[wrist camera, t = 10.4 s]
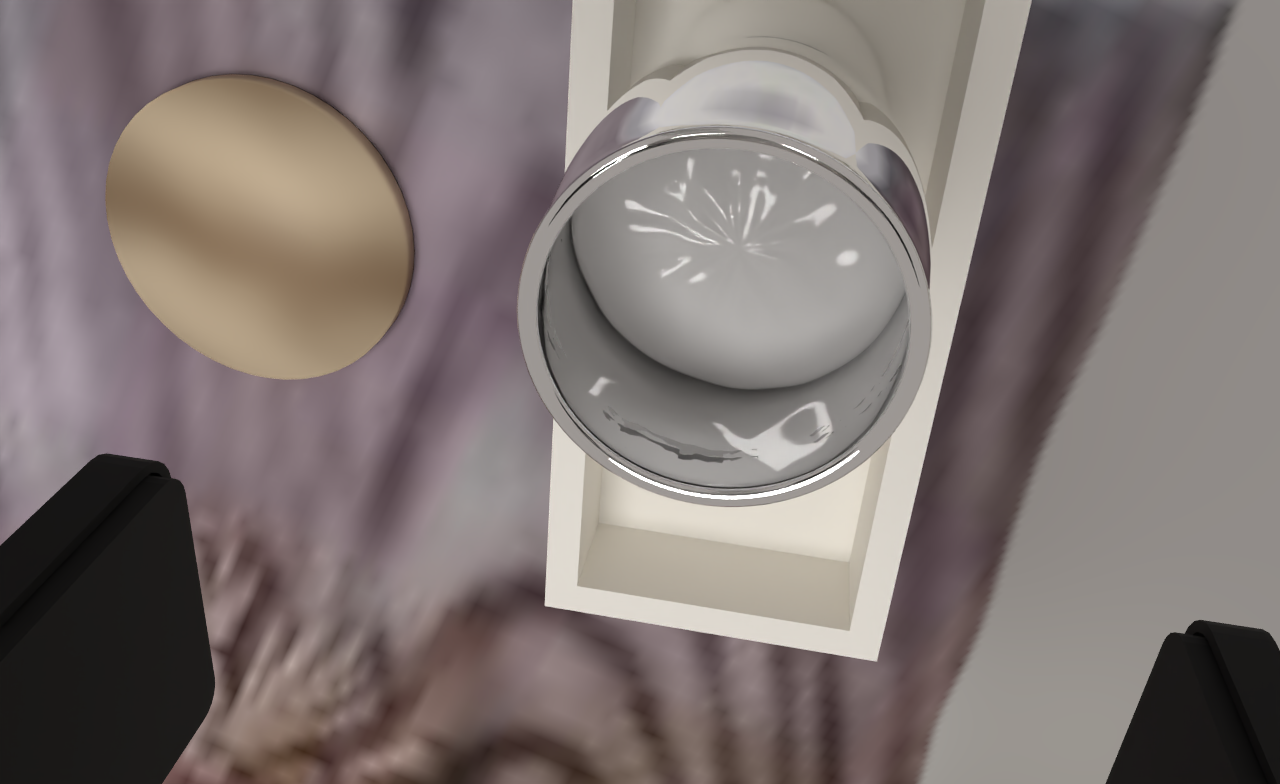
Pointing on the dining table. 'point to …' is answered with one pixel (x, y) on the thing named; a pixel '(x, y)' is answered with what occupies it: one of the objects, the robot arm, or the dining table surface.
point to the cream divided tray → (887, 482)
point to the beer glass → (736, 266)
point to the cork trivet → (260, 226)
